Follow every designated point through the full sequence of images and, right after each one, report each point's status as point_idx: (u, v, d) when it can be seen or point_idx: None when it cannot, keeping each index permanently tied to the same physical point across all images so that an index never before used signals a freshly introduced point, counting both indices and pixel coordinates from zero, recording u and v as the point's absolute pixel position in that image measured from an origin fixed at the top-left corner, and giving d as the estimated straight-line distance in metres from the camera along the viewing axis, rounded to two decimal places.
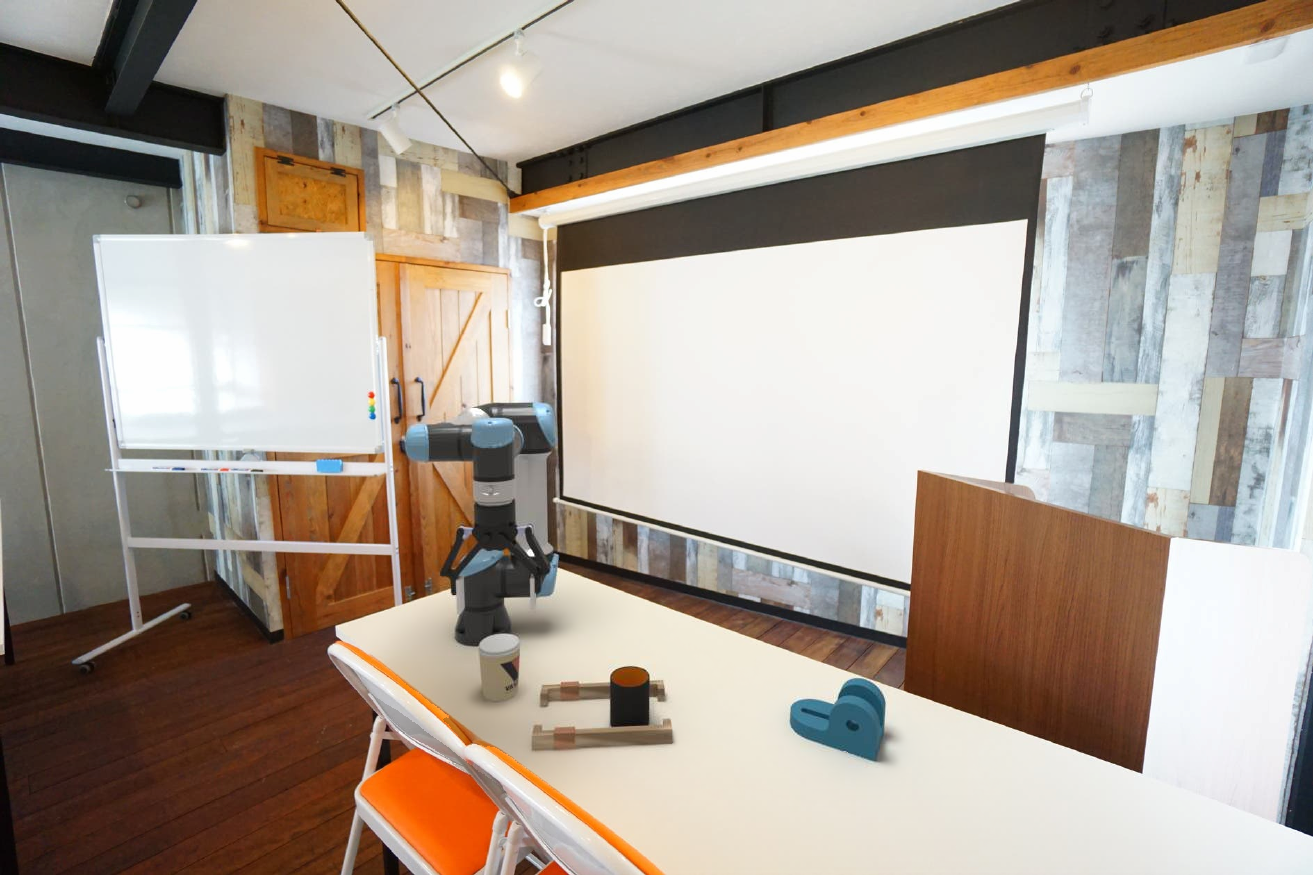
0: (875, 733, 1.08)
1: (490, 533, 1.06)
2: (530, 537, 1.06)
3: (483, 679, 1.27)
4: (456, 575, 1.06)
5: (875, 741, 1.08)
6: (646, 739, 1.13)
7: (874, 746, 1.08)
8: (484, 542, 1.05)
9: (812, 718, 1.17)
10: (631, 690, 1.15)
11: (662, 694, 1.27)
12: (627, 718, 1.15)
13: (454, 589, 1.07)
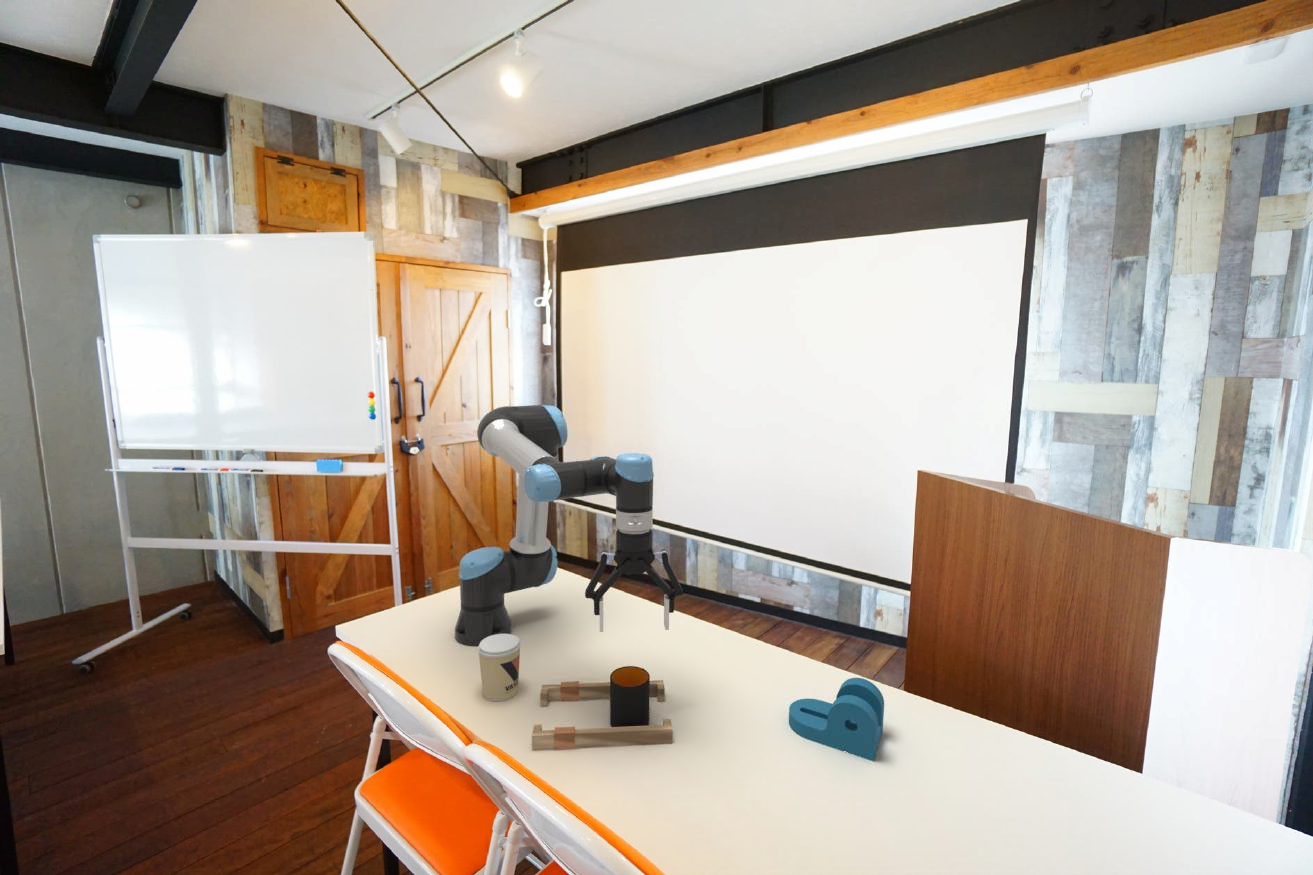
0: (874, 732, 1.08)
1: (631, 558, 1.16)
2: (666, 562, 1.17)
3: (483, 679, 1.27)
4: (599, 597, 1.16)
5: (874, 740, 1.08)
6: (646, 739, 1.13)
7: (873, 745, 1.08)
8: (626, 567, 1.16)
9: (811, 718, 1.17)
10: (631, 690, 1.15)
11: (662, 694, 1.27)
12: (627, 718, 1.15)
13: (597, 609, 1.17)
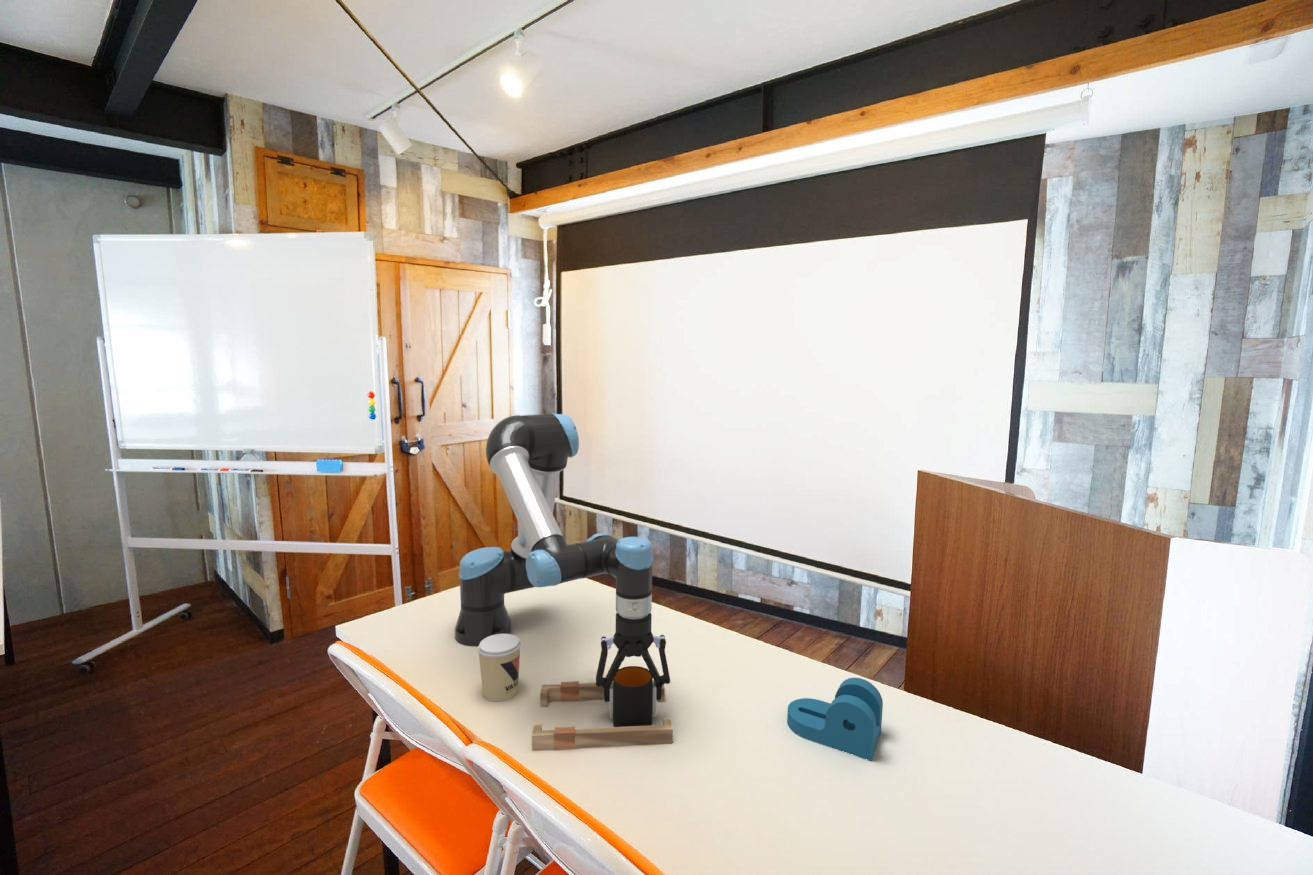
0: (871, 732, 1.08)
1: (629, 641, 1.18)
2: (663, 649, 1.19)
3: (483, 679, 1.27)
4: (609, 684, 1.19)
5: (871, 740, 1.08)
6: (646, 739, 1.13)
7: (870, 745, 1.08)
8: (626, 650, 1.18)
9: (809, 717, 1.17)
10: (634, 690, 1.15)
11: (662, 694, 1.27)
12: (629, 718, 1.15)
13: (607, 696, 1.20)
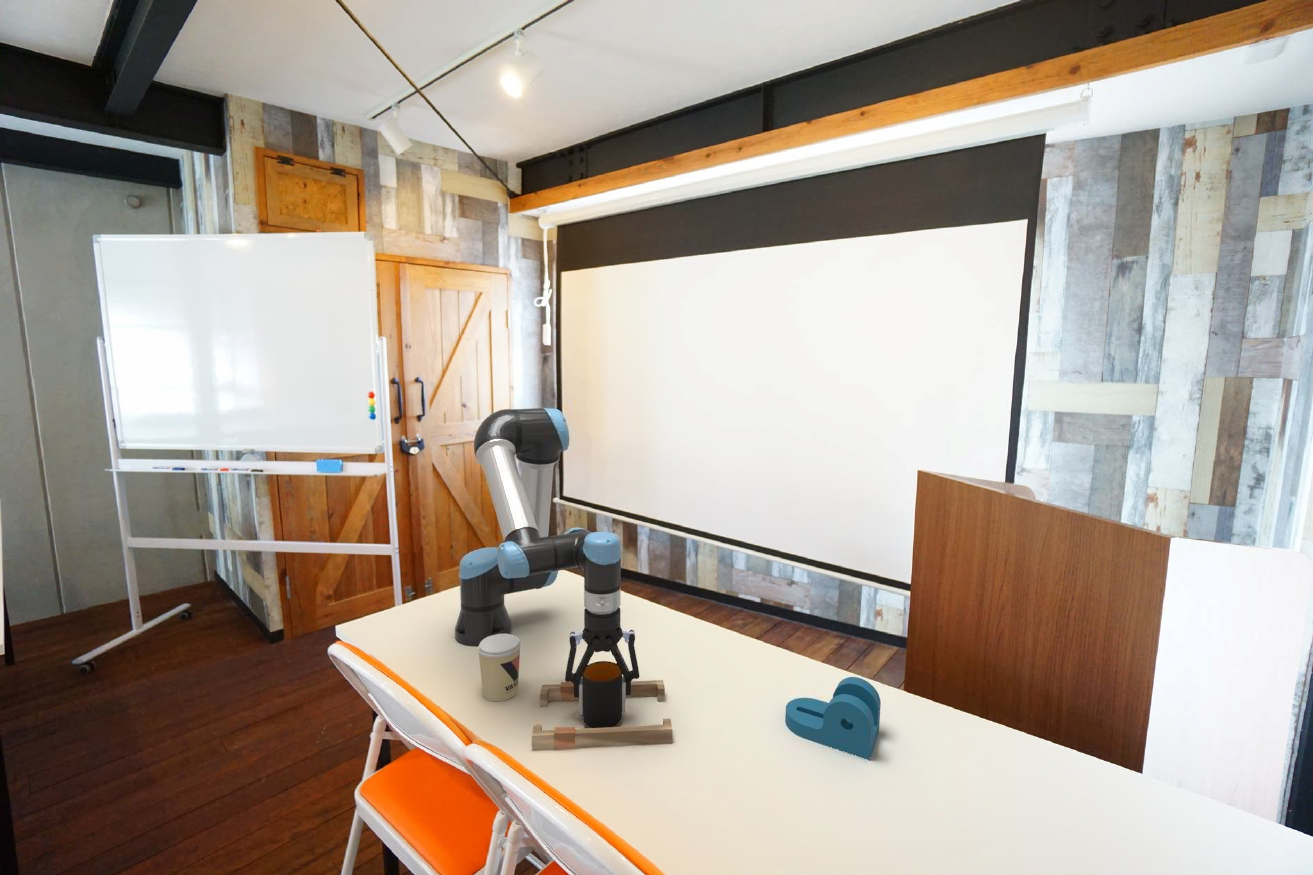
0: (869, 731, 1.08)
1: (598, 636, 1.18)
2: (632, 644, 1.19)
3: (483, 679, 1.27)
4: (579, 679, 1.18)
5: (869, 740, 1.09)
6: (646, 739, 1.13)
7: (868, 745, 1.09)
8: (595, 645, 1.17)
9: (807, 717, 1.18)
10: (603, 685, 1.14)
11: (662, 694, 1.27)
12: (598, 713, 1.15)
13: (577, 692, 1.19)
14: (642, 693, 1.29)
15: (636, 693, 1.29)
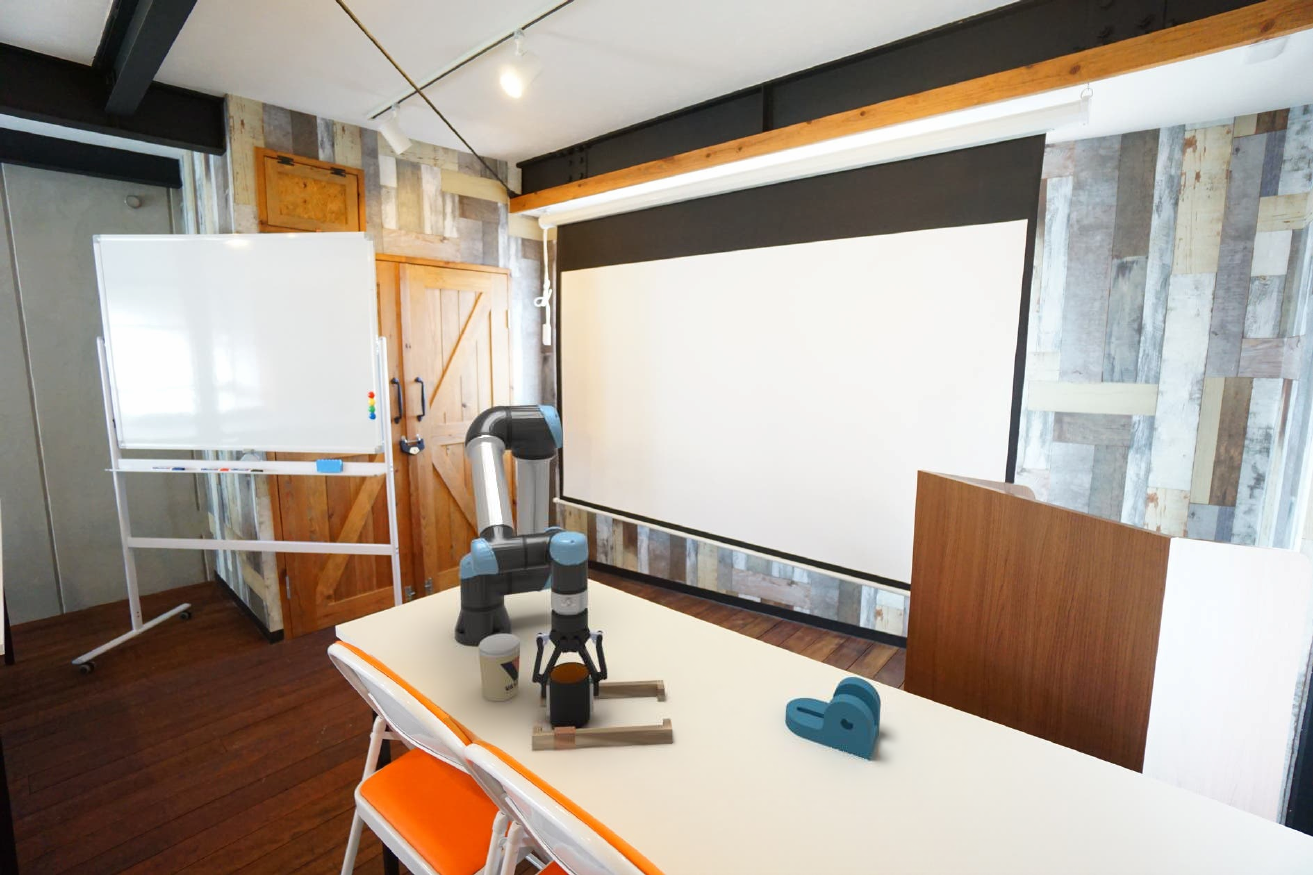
0: (869, 731, 1.08)
1: (565, 636, 1.17)
2: (599, 644, 1.18)
3: (483, 679, 1.27)
4: (546, 680, 1.18)
5: (869, 740, 1.08)
6: (646, 739, 1.13)
7: (868, 745, 1.09)
8: (562, 646, 1.16)
9: (807, 717, 1.18)
10: (569, 686, 1.14)
11: (662, 694, 1.27)
12: (565, 714, 1.14)
13: (544, 693, 1.19)
14: (642, 693, 1.29)
15: (636, 693, 1.29)
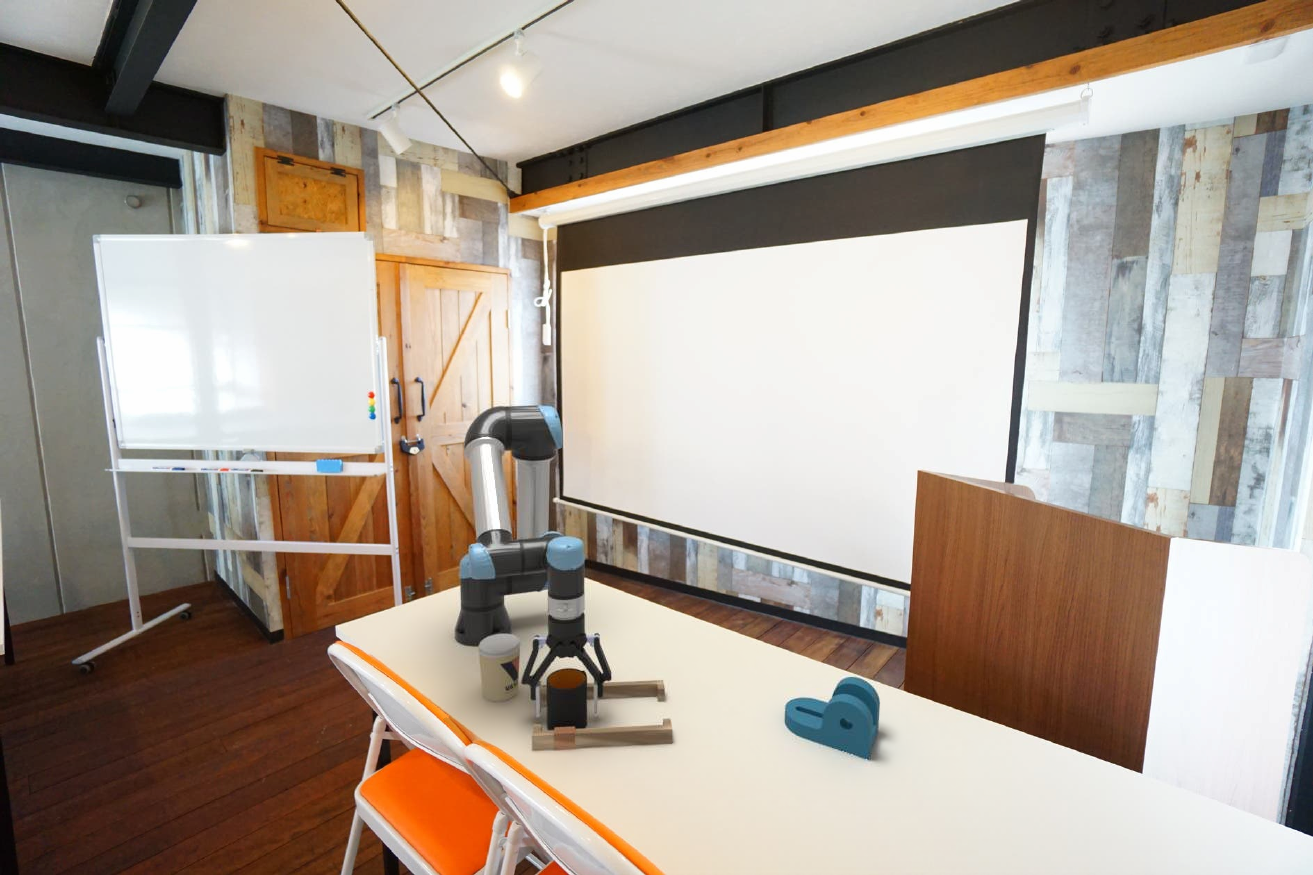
0: (868, 731, 1.08)
1: (562, 642, 1.17)
2: (598, 647, 1.18)
3: (483, 679, 1.27)
4: (536, 682, 1.17)
5: (868, 739, 1.09)
6: (646, 739, 1.13)
7: (867, 744, 1.09)
8: (558, 651, 1.16)
9: (806, 716, 1.18)
10: (566, 693, 1.14)
11: (662, 694, 1.27)
12: (562, 720, 1.14)
13: (533, 695, 1.18)
14: (642, 693, 1.29)
15: (636, 693, 1.29)
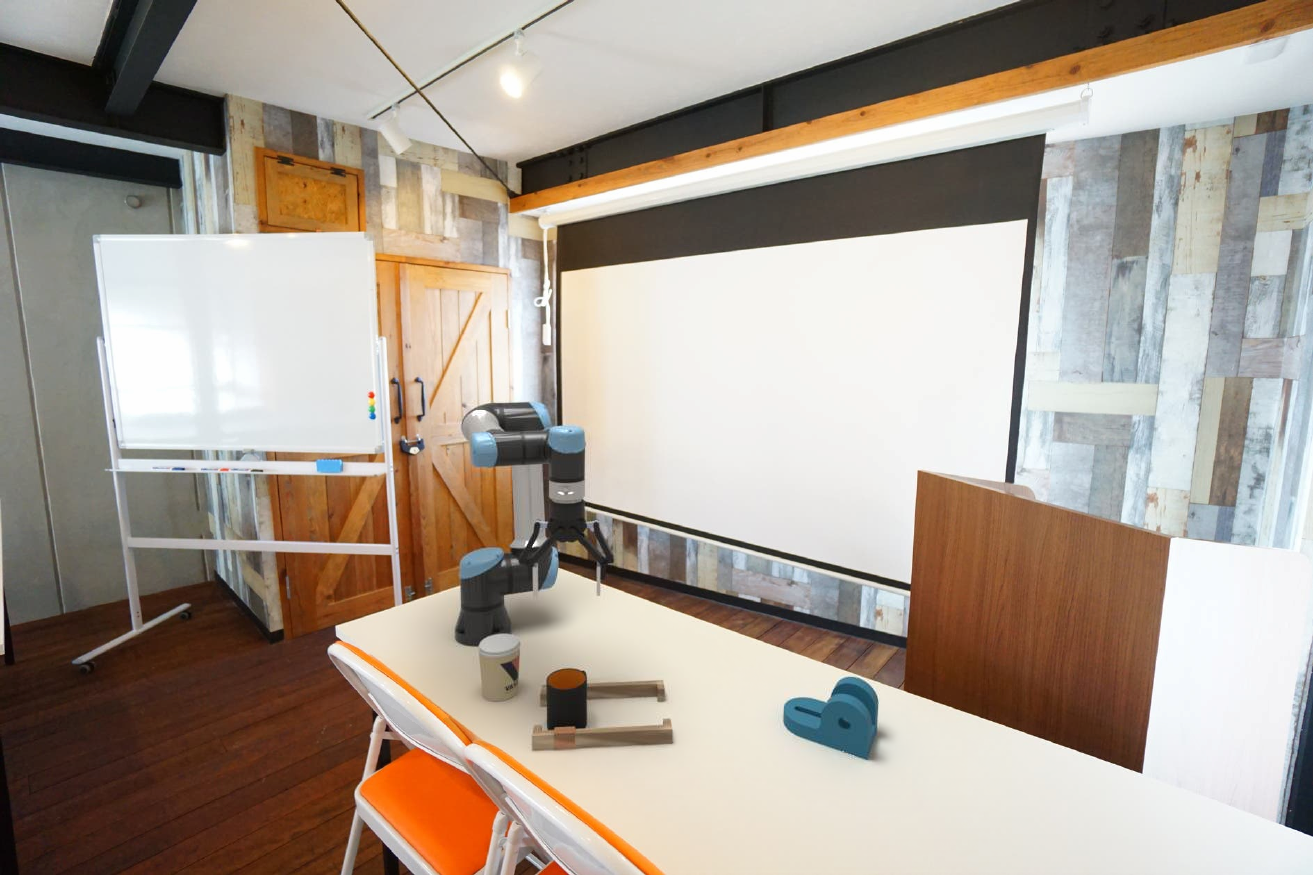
0: (866, 731, 1.08)
1: (563, 527, 1.21)
2: (598, 531, 1.21)
3: (483, 679, 1.27)
4: (533, 563, 1.21)
5: (867, 739, 1.09)
6: (646, 739, 1.13)
7: (866, 744, 1.09)
8: (558, 535, 1.20)
9: (805, 716, 1.18)
10: (566, 692, 1.14)
11: (662, 694, 1.27)
12: (561, 720, 1.14)
13: (530, 575, 1.22)
14: (642, 693, 1.29)
15: (636, 693, 1.29)
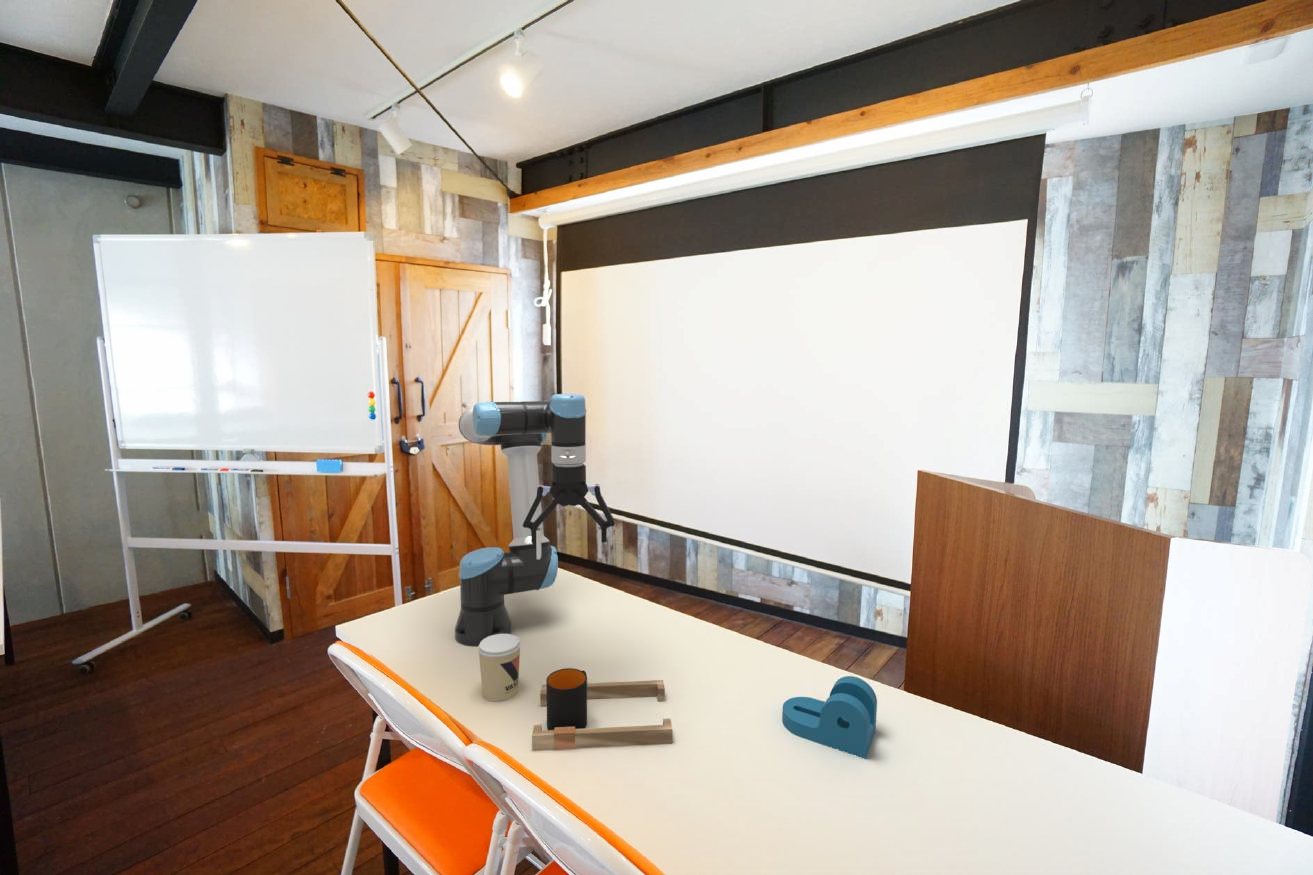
0: (865, 730, 1.09)
1: (565, 491, 1.25)
2: (598, 494, 1.26)
3: (483, 679, 1.27)
4: (536, 526, 1.26)
5: (865, 738, 1.09)
6: (646, 739, 1.13)
7: (864, 743, 1.09)
8: (560, 498, 1.25)
9: (804, 716, 1.18)
10: (566, 693, 1.14)
11: (662, 694, 1.27)
12: (561, 721, 1.14)
13: (534, 538, 1.26)
14: (642, 693, 1.29)
15: (636, 693, 1.29)
